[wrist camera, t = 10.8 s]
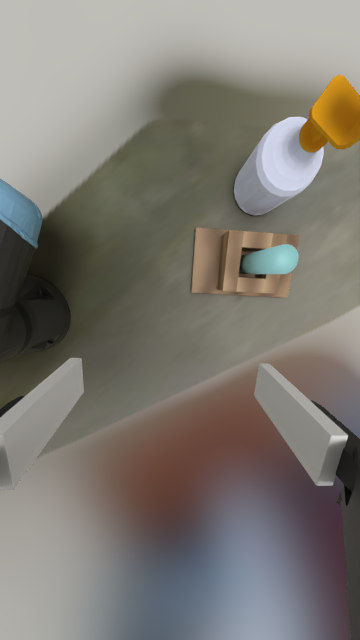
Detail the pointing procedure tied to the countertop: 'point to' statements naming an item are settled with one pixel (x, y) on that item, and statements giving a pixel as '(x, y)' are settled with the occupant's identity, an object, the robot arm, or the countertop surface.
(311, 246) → the countertop surface
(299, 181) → the soap bottle
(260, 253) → the peg
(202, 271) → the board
